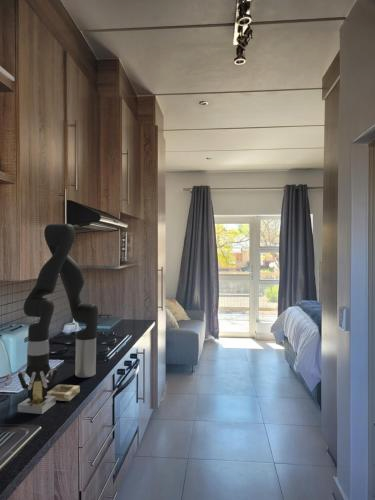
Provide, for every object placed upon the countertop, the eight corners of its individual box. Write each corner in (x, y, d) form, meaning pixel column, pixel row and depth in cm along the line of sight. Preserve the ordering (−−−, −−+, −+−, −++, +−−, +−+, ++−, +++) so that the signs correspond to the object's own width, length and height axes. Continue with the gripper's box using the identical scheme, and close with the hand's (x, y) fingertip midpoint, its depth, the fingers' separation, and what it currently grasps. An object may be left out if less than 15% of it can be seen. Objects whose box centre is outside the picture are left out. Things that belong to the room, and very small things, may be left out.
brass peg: (35, 404, 136) (35, 377, 136) (45, 404, 136) (45, 378, 136) (29, 408, 132) (29, 381, 132) (39, 409, 132) (39, 382, 132)
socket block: (32, 401, 139) (32, 394, 139) (55, 403, 138) (55, 396, 138) (17, 411, 130) (17, 404, 130) (42, 414, 129) (42, 406, 129)
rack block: (58, 390, 151) (58, 384, 151) (79, 391, 149) (79, 385, 149) (45, 399, 141) (46, 392, 141) (68, 401, 140) (68, 394, 140)
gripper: (16, 356, 128) (15, 405, 128) (58, 352, 133) (58, 399, 133) (17, 350, 135) (17, 396, 135) (58, 347, 140) (57, 392, 140)
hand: (37, 397), depth 134 cm, fingers closed on brass peg, 4 cm apart
